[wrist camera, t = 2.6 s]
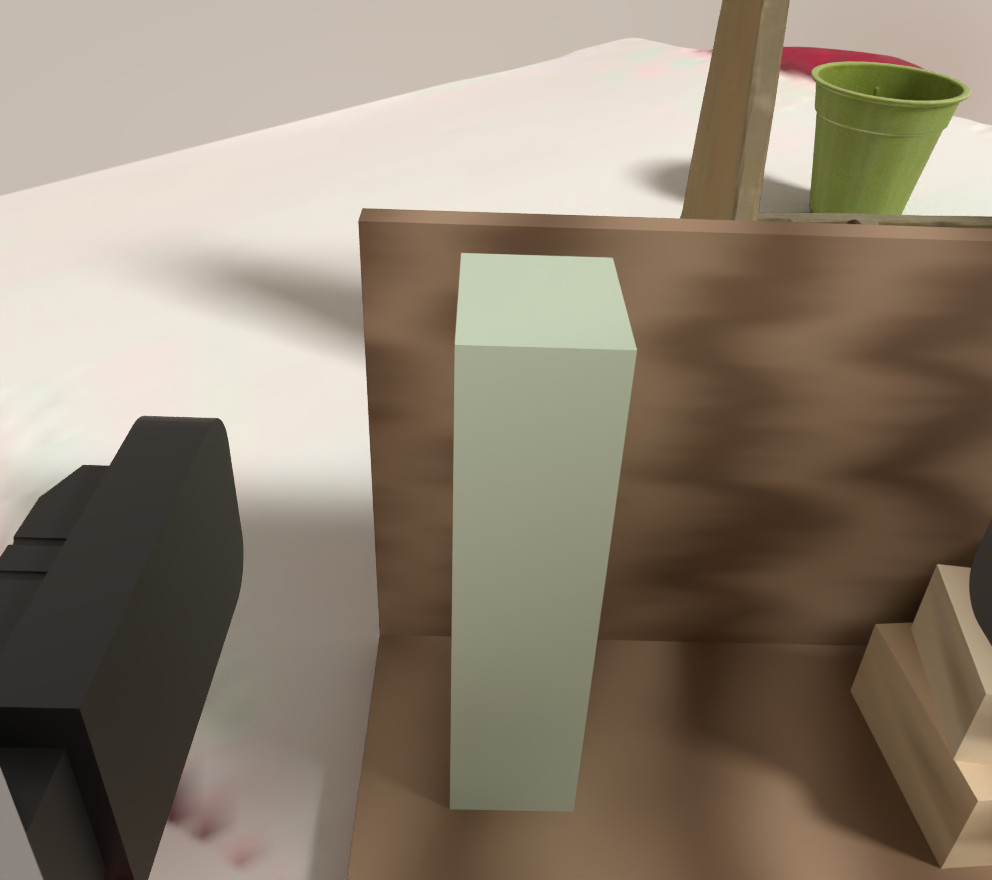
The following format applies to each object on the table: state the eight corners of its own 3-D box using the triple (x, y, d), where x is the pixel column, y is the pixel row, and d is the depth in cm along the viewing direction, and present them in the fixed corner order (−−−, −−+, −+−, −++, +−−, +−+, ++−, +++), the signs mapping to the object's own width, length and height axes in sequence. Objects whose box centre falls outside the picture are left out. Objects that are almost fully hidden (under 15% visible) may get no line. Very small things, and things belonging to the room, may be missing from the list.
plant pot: (770, 228, 76) (800, 85, 70) (793, 185, 85) (822, 55, 79) (923, 256, 72) (970, 107, 66) (930, 208, 81) (972, 73, 75)
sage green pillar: (563, 689, 34) (612, 258, 24) (573, 811, 30) (636, 350, 20) (454, 687, 34) (461, 252, 24) (449, 809, 30) (454, 344, 20)
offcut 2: (1002, 683, 35) (1036, 617, 33) (1121, 856, 29) (1170, 788, 27) (850, 690, 35) (875, 624, 33) (941, 868, 29) (978, 801, 27)
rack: (969, 650, 38) (1164, 234, 28) (1156, 983, 27) (1583, 504, 17) (383, 637, 38) (362, 208, 27) (339, 971, 27) (278, 471, 17)
